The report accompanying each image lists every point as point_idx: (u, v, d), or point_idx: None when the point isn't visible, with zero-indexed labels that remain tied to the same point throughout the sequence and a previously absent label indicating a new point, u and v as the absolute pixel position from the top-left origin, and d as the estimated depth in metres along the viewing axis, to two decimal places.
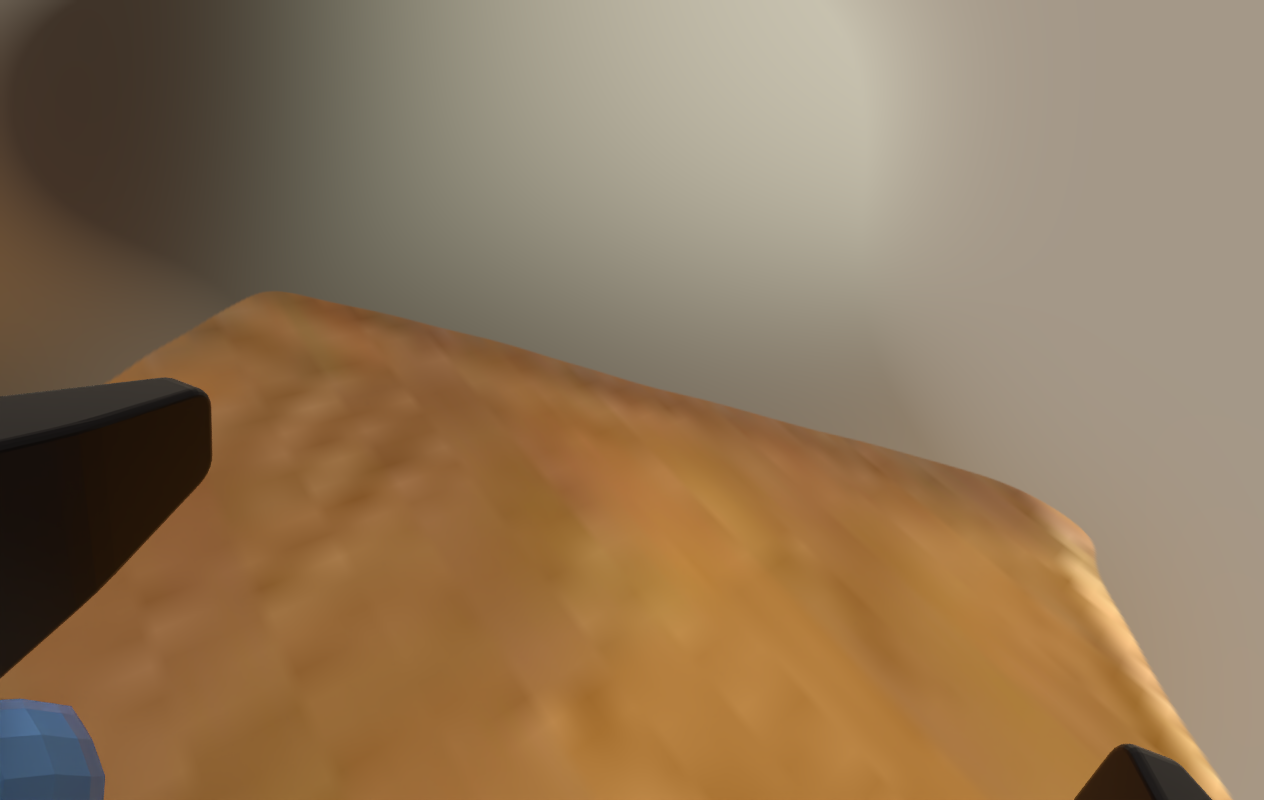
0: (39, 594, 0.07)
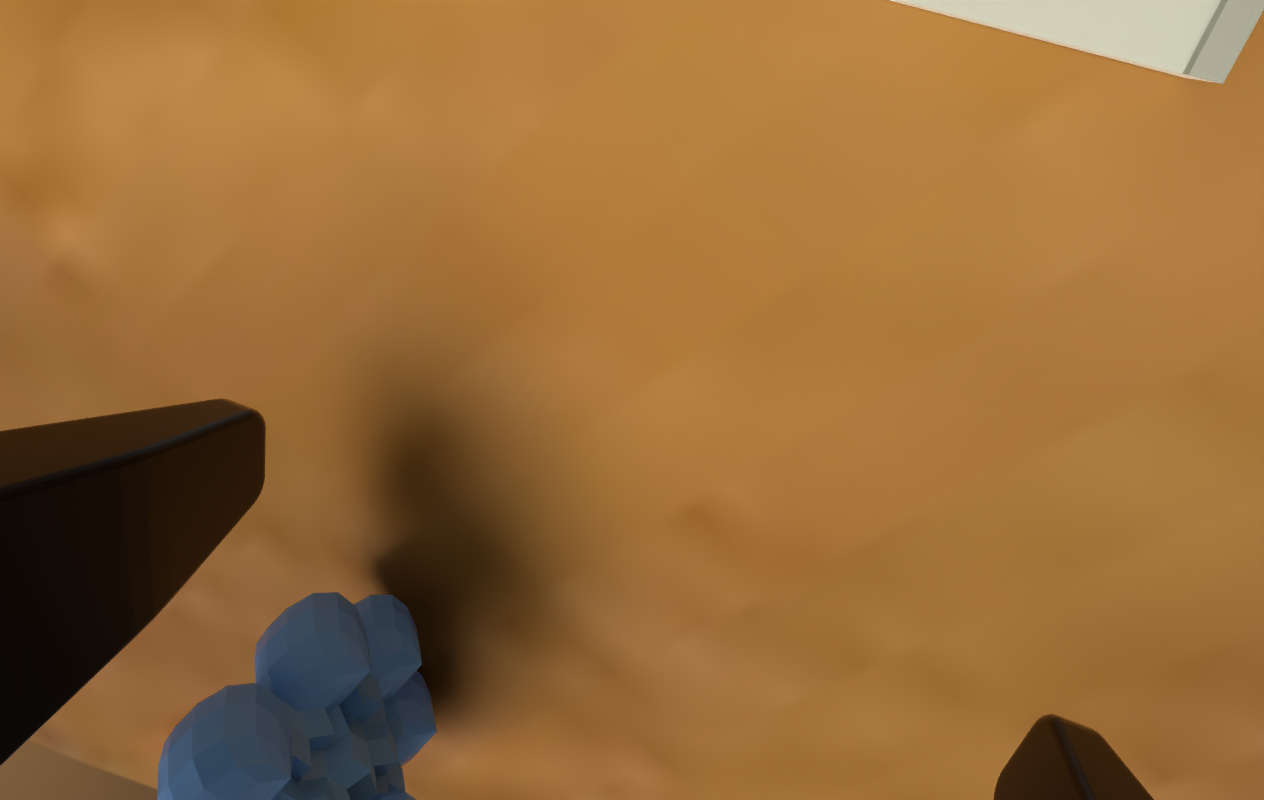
0: (101, 622, 0.07)
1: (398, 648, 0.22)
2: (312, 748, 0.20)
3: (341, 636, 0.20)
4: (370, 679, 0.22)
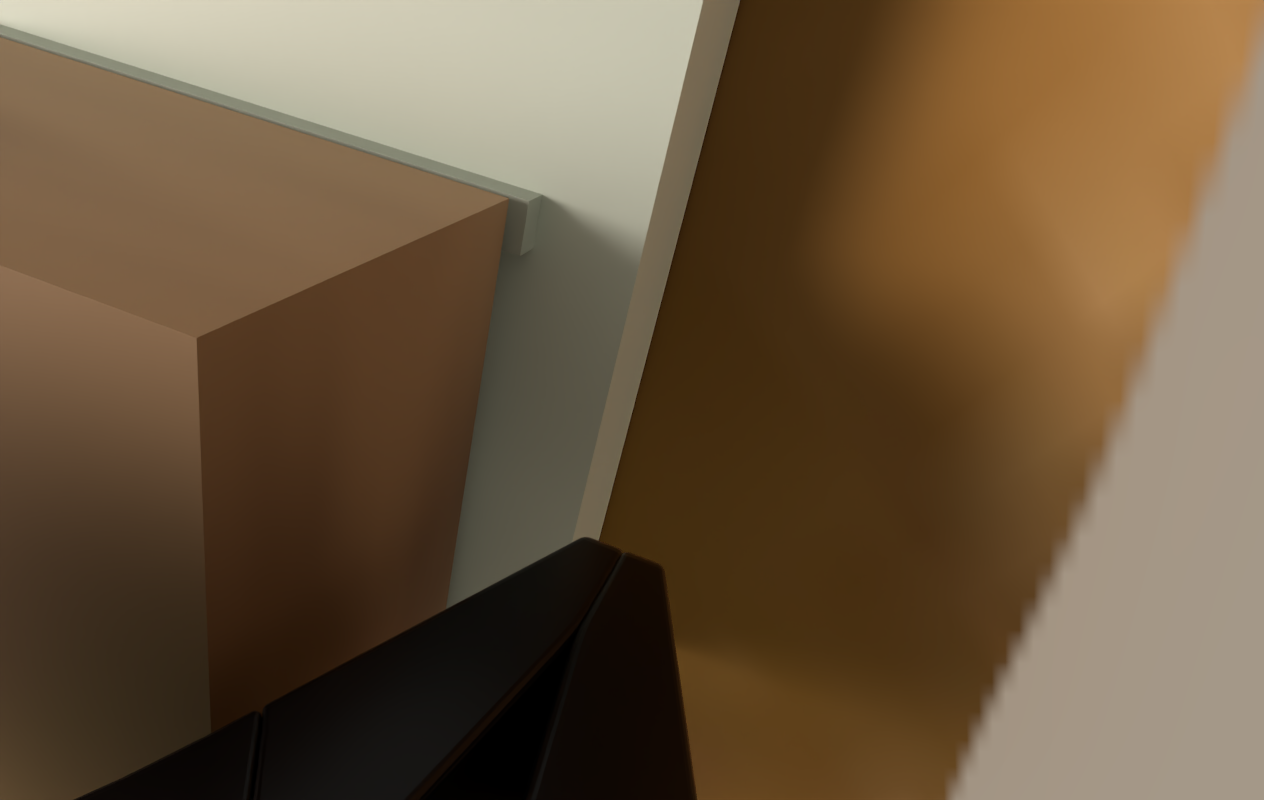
0: None
1: None
2: None
3: None
4: None
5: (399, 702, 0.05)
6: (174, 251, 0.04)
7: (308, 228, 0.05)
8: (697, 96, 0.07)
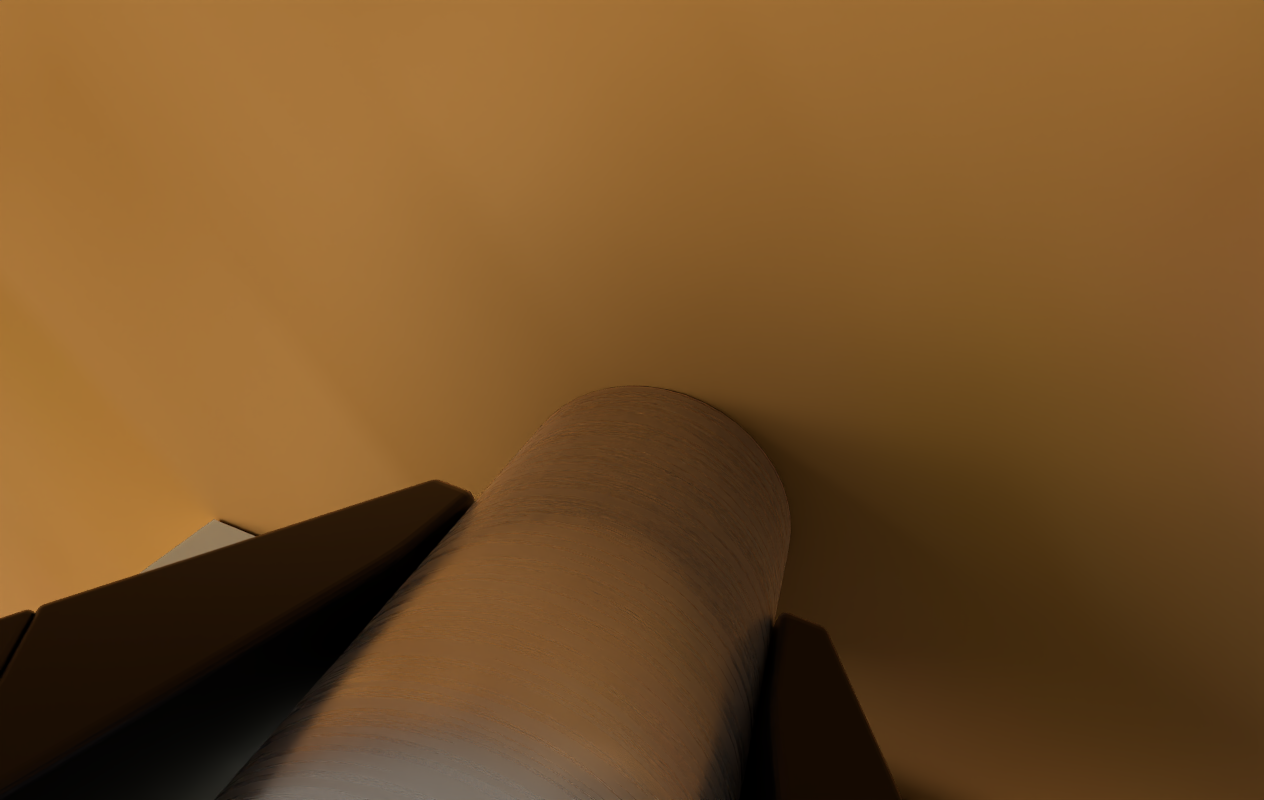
0: None
1: None
2: None
3: None
4: None
5: (181, 607, 0.05)
6: None
7: None
8: None
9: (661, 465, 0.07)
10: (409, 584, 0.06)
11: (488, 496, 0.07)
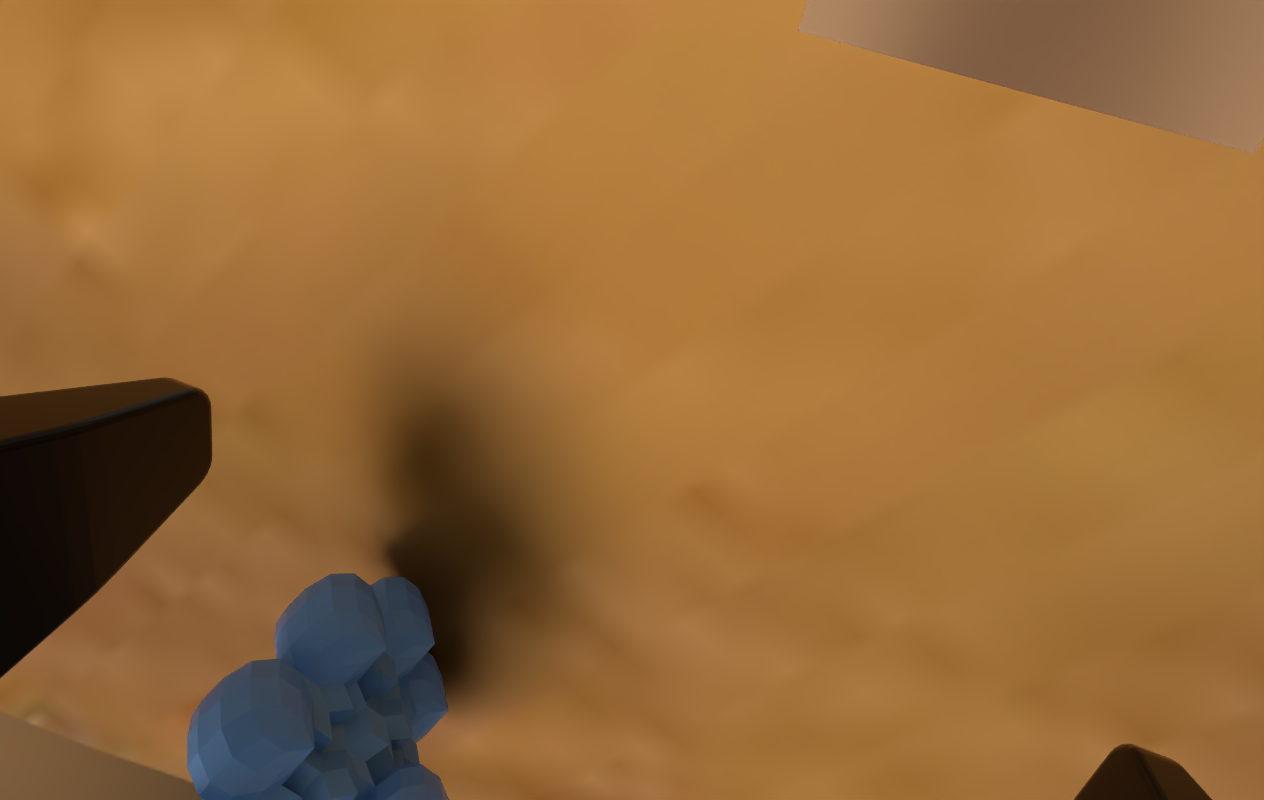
0: (39, 594, 0.07)
1: (412, 628, 0.23)
2: (332, 722, 0.20)
3: (359, 614, 0.21)
4: (385, 657, 0.23)
5: None
6: None
7: None
8: None
9: None
10: None
11: None
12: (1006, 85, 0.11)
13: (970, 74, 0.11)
